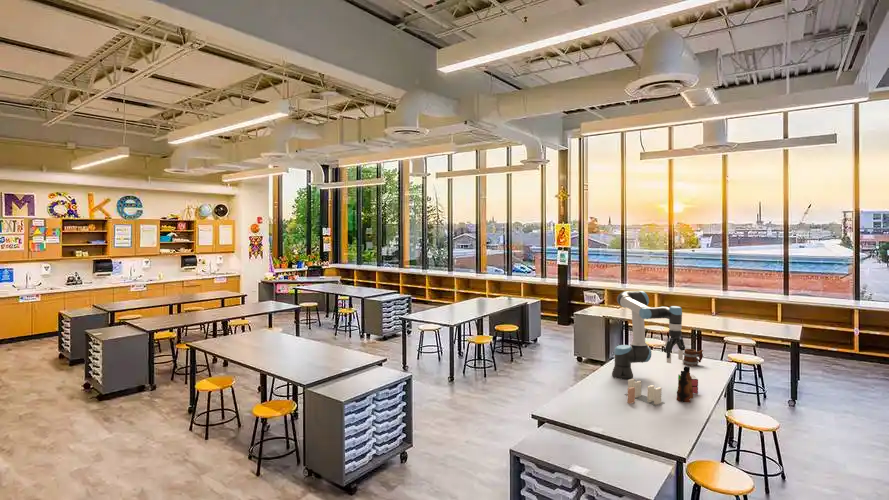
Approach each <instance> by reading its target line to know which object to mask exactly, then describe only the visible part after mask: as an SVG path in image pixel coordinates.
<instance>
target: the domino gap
mask: <svg viewBox="0 0 889 500" xmlns="http://www.w3.org/2000/svg"><path fill="white" fill-rule="evenodd" d="M627 394H628V396H627V402H626V403H627V404H629V405H630V404H633V403H635V401H636V399H635V388H634V387H631V388H628V387H627Z"/></svg>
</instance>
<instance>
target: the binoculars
mask: <svg viewBox="0 0 889 500" xmlns="http://www.w3.org/2000/svg"><path fill="white" fill-rule="evenodd" d="M690 367H691V366H687V365H686V366H684V367H683V370H680V374H681V376H680V379H679V380H677V381H678V382H679V383H677V391H676V394H677V395H676V398H675V399H676V401H677V402H679V403H685V404H686V403H688V404H689V403H691V399H693V398H694V393H693V392H692V391H693V389H692V377H691V376H690V375H691V372H690Z"/></svg>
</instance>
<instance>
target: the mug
mask: <svg viewBox="0 0 889 500" xmlns="http://www.w3.org/2000/svg"><path fill="white" fill-rule="evenodd" d="M703 352H704V350H703V349H701V350H699V351H697V350H696V349H693V348H685V350H684V351H683V360H681V361H682V363H683V365H686V366H688V367H694V366H695V367H696V366H698V364H699V363H701V362H702V359H703V357H704V355H703V354H704V353H703Z"/></svg>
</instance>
